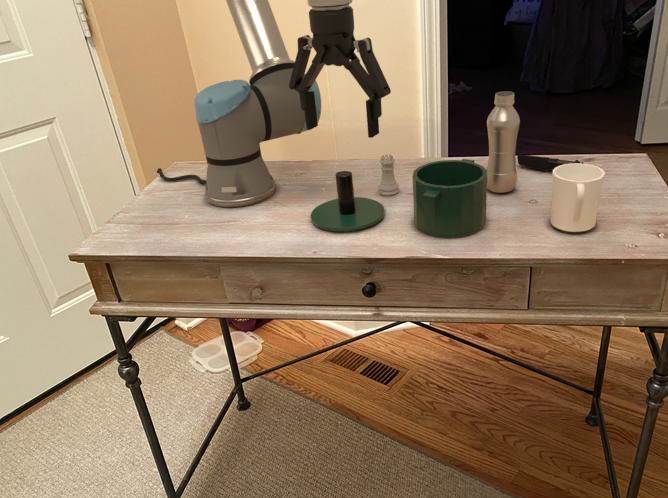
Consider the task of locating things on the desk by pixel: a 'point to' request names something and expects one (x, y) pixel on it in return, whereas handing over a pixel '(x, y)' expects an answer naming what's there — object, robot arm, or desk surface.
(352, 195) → the lid
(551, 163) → the electric trimmer
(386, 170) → the rook chess piece
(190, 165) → the desk surface
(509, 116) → the silver metal bottle
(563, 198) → the mug
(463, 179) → the pot
